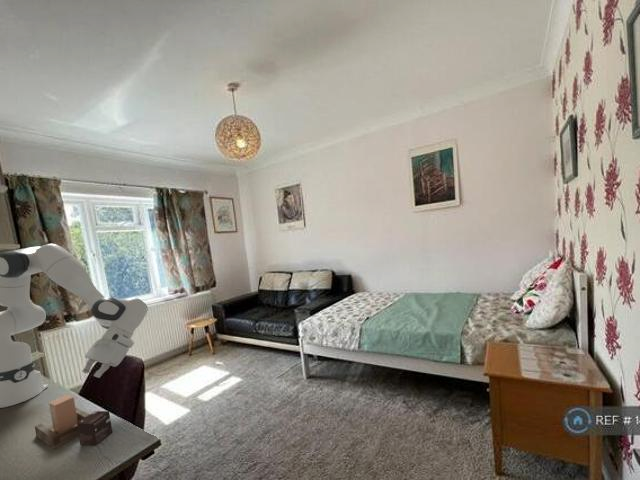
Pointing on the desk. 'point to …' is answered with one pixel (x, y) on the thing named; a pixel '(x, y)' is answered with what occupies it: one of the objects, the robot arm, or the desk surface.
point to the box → (94, 428)
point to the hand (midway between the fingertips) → (90, 374)
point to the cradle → (61, 438)
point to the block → (63, 413)
